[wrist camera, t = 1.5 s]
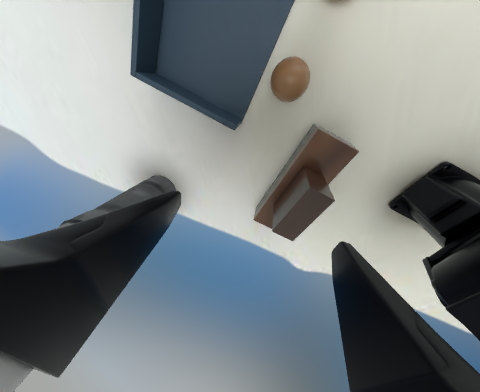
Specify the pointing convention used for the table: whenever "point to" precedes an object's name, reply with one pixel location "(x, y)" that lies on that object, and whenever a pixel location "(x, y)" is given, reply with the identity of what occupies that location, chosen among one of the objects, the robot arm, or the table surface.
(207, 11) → the dustpan
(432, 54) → the table surface
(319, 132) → the brush
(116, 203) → the beverage cup
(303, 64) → the brown rounded piece
